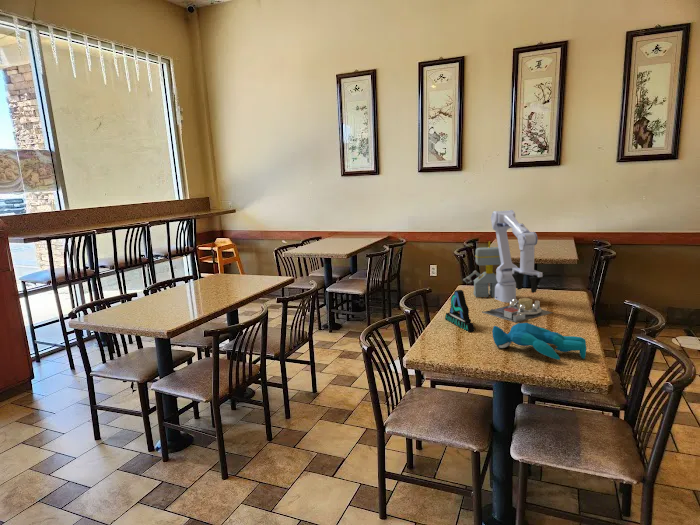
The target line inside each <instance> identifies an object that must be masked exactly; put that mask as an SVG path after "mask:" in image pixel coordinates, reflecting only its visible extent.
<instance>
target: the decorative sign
mask: <svg viewBox="0 0 700 525" xmlns="http://www.w3.org/2000/svg"><path fill="white" fill-rule="evenodd" d="M464 292H465V291H464V290H462V289H456V290H455V289H454V293H453V294H452V295H451V297H450V308H449V312H446V313H445V316H444V320H445V321H447V322H449V323H451V325H454V326H456V327H458V328H460V329H461V328H462V329H461V330H463V329H464V330H463V331H465V330H466V332H467V331H468V332H467V333H472V332H473V331H474V332H475V326H474V323H473V322H472V320H471V319H470V315H469V313H470V310H469V306H468V305H467V301H466V297H465V293H464ZM474 332H473V333H474Z"/></svg>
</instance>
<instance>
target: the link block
mask: <svg viewBox="0 0 700 525" xmlns="http://www.w3.org/2000/svg"><path fill="white" fill-rule="evenodd" d="M518 301H519V302H518V304H519V308H520V305H521V304H523V305H525V310H528V309H532V305H533V299H531V298H529V299H528V297H523V298H519V299H518Z"/></svg>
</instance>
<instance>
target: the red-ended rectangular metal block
mask: <svg viewBox="0 0 700 525" xmlns="http://www.w3.org/2000/svg"><path fill="white" fill-rule="evenodd" d="M517 314H518V309H515V308H512V307H510V308H506V309H504V318H507V319H510V320H513V315H517Z"/></svg>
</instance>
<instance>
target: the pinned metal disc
mask: <svg viewBox="0 0 700 525" xmlns="http://www.w3.org/2000/svg"><path fill="white" fill-rule="evenodd" d="M527 298H528V297H527ZM528 299H530V298H528ZM517 300H518V299H517V298H516V299H512V302H510V303H509V305H508V306H509V307H508V308H510V307H512V308H515V309H518V314H521V313H523V314H525V316H533V315H538V314H541V313H542V310H543V309H542V307H540V305H541V304H540V303H541V302H540V301H539V300H534V303H532V309H528V310H525V305H523V304H521V305H520V308H519V303H517Z"/></svg>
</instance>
